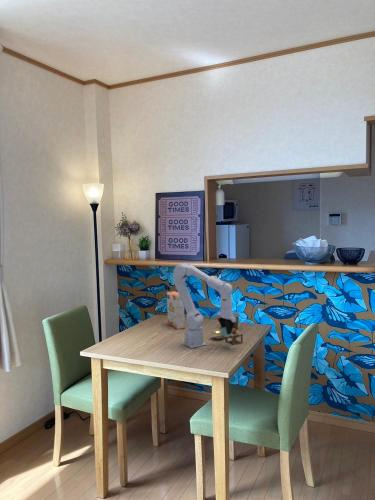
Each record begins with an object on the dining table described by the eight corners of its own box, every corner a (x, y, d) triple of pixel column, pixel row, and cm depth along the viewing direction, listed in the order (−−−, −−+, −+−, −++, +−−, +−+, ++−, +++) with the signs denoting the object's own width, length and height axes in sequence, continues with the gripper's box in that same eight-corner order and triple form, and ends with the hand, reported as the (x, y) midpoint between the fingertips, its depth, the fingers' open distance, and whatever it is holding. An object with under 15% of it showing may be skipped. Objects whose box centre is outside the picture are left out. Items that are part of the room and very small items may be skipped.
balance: (215, 342, 222) (214, 333, 222) (207, 338, 229) (207, 330, 229) (242, 336, 231) (242, 328, 230) (234, 332, 238) (233, 325, 237)
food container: (217, 329, 246) (216, 313, 245) (221, 326, 251) (220, 310, 250) (236, 331, 240) (235, 314, 239) (240, 328, 245) (239, 312, 244)
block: (225, 337, 210) (225, 329, 209) (221, 335, 213) (221, 327, 213) (232, 335, 211) (232, 328, 211) (227, 333, 215) (227, 326, 215)
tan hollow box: (233, 344, 216) (232, 331, 216) (225, 341, 222) (225, 328, 221) (242, 342, 220) (242, 329, 219) (235, 339, 225) (234, 326, 225)
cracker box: (167, 324, 261) (166, 291, 259) (176, 323, 263) (175, 290, 261) (176, 329, 248) (174, 295, 246) (185, 328, 251) (184, 294, 249)
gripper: (240, 308, 206) (241, 334, 208) (224, 303, 219) (225, 328, 220) (229, 310, 203) (229, 337, 204) (213, 305, 216) (214, 330, 217)
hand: (226, 332), depth 212 cm, fingers closed on block, 4 cm apart
